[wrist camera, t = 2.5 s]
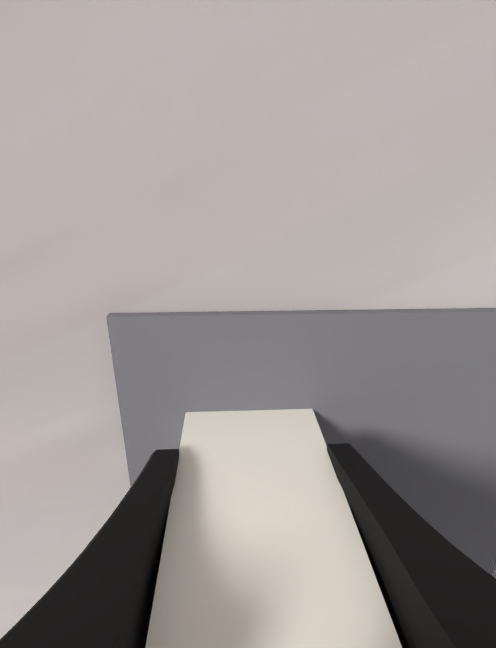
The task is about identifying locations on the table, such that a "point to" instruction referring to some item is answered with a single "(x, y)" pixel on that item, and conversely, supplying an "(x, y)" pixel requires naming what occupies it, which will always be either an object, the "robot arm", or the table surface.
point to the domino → (263, 542)
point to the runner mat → (333, 394)
